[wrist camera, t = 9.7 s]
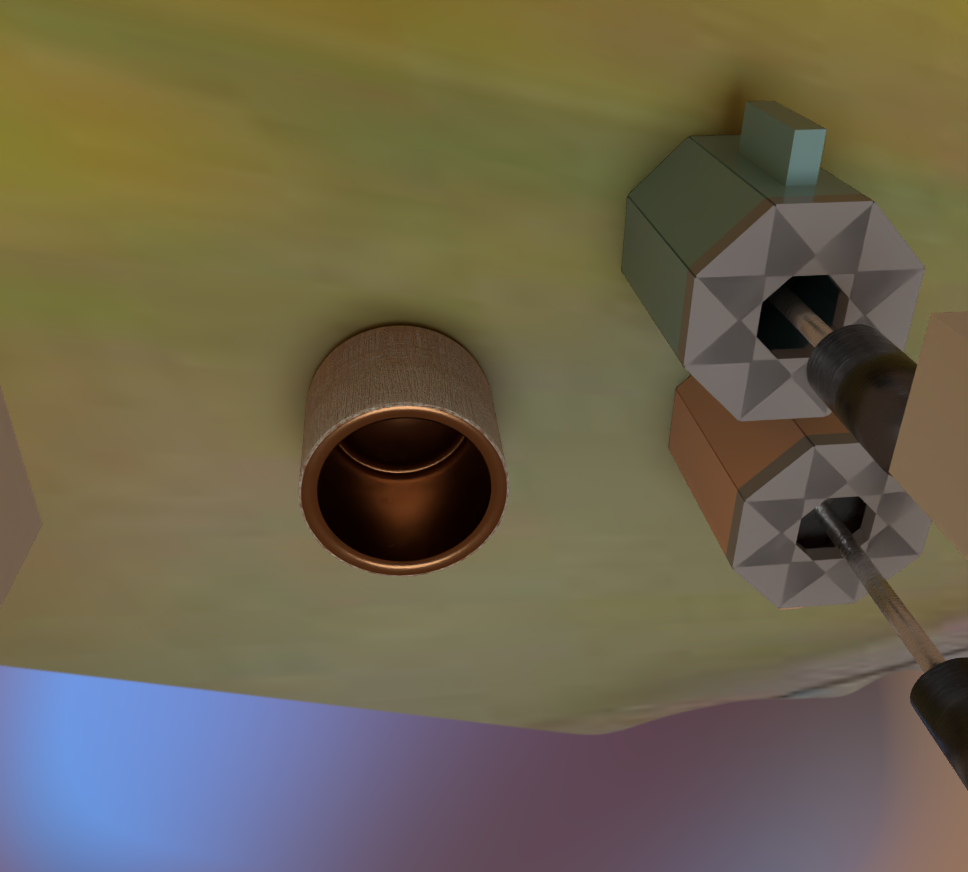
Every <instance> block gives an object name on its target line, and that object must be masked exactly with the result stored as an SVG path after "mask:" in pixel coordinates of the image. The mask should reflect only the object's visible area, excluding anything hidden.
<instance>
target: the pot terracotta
mask: <svg viewBox="0 0 968 872" xmlns="http://www.w3.org/2000/svg"><path fill="white" fill-rule="evenodd" d="M669 450H670V452H671V454H672V456H673V458H674V459H675V461H676V463H677V465H678V467H679V469H680V471H681V473H682V475H683V476H684V478H685V480H686V482H687V484H688V486H689V488H690V490H691V491H692V493H693V495H694V497H695V499H696V501H697V503H698V505H699V506H700V508H701V510H702V512H703V514H704V516H705V518H706V520H707V522H708V523H709V525H710V527H711V529H712V531H713V533H714V535H715V537H716V538H717V540H718V542H719V544H720V546H721V548H722V550H723V552H724V554H725V555H726V557H727V559H728V561H729V563H730V565H731V567H732V569H733V570H734V571H735V572H737V573H738V574H739V575H740V576H741V577H742V578H744V579H745V580H746V581H747V582H748V583H749V584H751V585H752V586H753V587H754V588H755V589H756V590H758V591H759V592H760V593H761V594H762V595H763V596H765V597H766V598H767V599H768V600H769V601H770V602H771V603H773V604H774V605H775V606H776V607H777V608H779V609H793V608H803V607H809V606H822V605H836V604H849V603H854V602H857V601H858V600H860V599H861V598H862V597H864V596H865V595H867V594H868V592H867V590H866V589H865V587H864V586H863V585H862V583H861V582H860V580H859V579H858V578H857V576H856V575H855V573H854V572H853V570H852V569H851V568H850V566H849V565H848V563H847V562H846V560H845V559H844V558H843V556H842V555H841V553H840V552H839V551H838V549H837V548H836V547H827V548H813V549H805V548H804V547H803V546H802V545H801V544H799V543H798V542H797V541H796V540H797V535H798V531H799V526H800V522H801V518H803V517H804V516H805V515H806V514H808V513H809V512H810V511H812V510H813V509H814V508H816V507H817V506H818V505H820V504H821V503H822V502H823V501H825V500H826V499H827V498H840V497H855V496H859V497H860V498H861V499H862V500H863V501H864V502H865V503H866V504H867V505H866V509H865V513H864V516H863V520H862V524H861V528H860V529H858V530H857V531H856V532H854V533H853V534H852V535H853V536H854V538H855V539H856V541H857V542H858V543H859V545H860V546H861V547H862V549H863V550H864V551H865V553H866V554H867V555H868V557H869V558H870V559H871V561H872V562H873V563H874V565H875V566H876V567H877V569H878V570H879V571H880V573H881V574H882V576H883V577H884V578H885V580H887V579H889V578H890V577H892V576H893V575H894V574H896V573H897V572H899V571H900V570H901V569H903V568H904V567H906V566H907V565H908V564H910V563H911V562H913V561H914V560H915V559H917V558H918V557H920V555H921V554H922V551H923V548H924V544H925V541H926V538H927V535H928V531H929V528H930V525H931V522H932V520H931V519H930V518H929V517H928V516H927V515H926V513H925V512H924V511H923V510H922V509H921V508H920V507H919V506H918V504H917V503H916V502H915V501H914V500H913V499H912V498H911V496H910V495H909V494H908V493H907V492H906V491H905V490H904V489H903V487H902V486H901V485H900V484H899V483H898V482H897V481H896V479H895V478H894V477H892V476H890V475H888V474H887V473H886V472H884V471H883V470H882V468H881V467H880V466H879V465H878V464H877V463H876V462H875V460H874V459H873V458H872V457H871V456H870V455H869V454H868V452H867V451H866V450H865V449H864V448H863V447H862V446H861V444H860V443H859V442H858V441H857V440H856V439H855V438H854V436H853V435H852V434H851V433H850V432H849V431H848V430H847V428H846V427H845V426H844V425H843V424H842V423H841V422H840V420H839V419H838V418H837V417H836V416H835V415H834V414H833V412H832V413H831V414H829V415H828V416H827V415H826V417H812V418H794V419H776V420H758V421H738V420H737V419H736V418H735V417H734V416H733V415H732V414H731V413H730V412H729V411H728V410H727V409H726V408H725V407H724V406H723V405H722V404H721V403H720V402H719V401H718V400H717V399H716V398H715V397H714V396H713V395H712V394H711V393H710V392H708V391H707V390H706V389H705V388H704V387H703V386H702V385H701V384H700V383H699V382H698V381H697V380H696V379H695V378H694V377H693V376H692V375H691V376H690V377H689V378H687V379H686V380H685V381H684V382H683V383H682V384H680V385H679V386H678V387H677V389H676V391H675V399H674V407H673V415H672V424H671V432H670V440H669Z"/></svg>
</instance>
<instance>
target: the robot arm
mask: <svg viewBox="0 0 968 872" xmlns="http://www.w3.org/2000/svg"><path fill="white" fill-rule="evenodd" d="M889 473H890V474H891V475H892V476H893V477H894V478H895V479H896V481H897V482H898V483H899V484H900V485H901V486H902V487H903V489H904V490H905V491H906V492H907V493H908V494H909V495H910V496H911V498H912V499H913V500H914V501H915V502H916V503H917V504H918V506H919V507H920V508H921V509H922V510H923V511H924V512H925V513H926V515H927V516H928V517H929V518H930V519H931V520H932V521H933V523H934V524H935V525H936V526H937V527H938V528H939V529H940V530H941V532H942V533H943V534H944V535H945V536H946V537H947V538H948V540H949V541H950V542H951V543H952V544H953V545H954V546H955V547H956V549H957V550H958V551H959V552H960V553H961V554H962V555H963V557H964V558H965V559H966V560H967V561H968V312H946V313H931V316H930V320H929V323H928V327H927V331H926V334H925V338H924V342H923V346H922V349H921V353H920V357H919V360H918V364H917V368H916V372H915V375H914V379H913V383H912V386H911V390H910V394H909V398H908V401H907V405H906V409H905V412H904V416H903V420H902V424H901V427H900V431H899V435H898V438H897V442H896V446H895V450H894V453H893V457H892V461H891V464H890V468H889ZM41 526H42V521H41V517H40V514H39V511H38V508H37V504H36V501H35V498H34V495H33V491H32V488H31V485H30V482H29V478H28V475H27V472H26V469H25V465H24V462H23V459H22V455H21V452H20V449H19V446H18V442H17V439H16V436H15V433H14V429H13V426H12V423H11V420H10V416H9V413H8V410H7V406H6V403H5V400H4V397H3V393H2V390H1V387H0V607H1V606H2V604H3V602H4V600H5V598H6V596H7V594H8V592H9V590H10V588H11V586H12V584H13V582H14V580H15V578H16V576H17V574H18V572H19V570H20V568H21V566H22V564H23V562H24V560H25V558H26V556H27V554H28V552H29V550H30V548H31V546H32V544H33V542H34V540H35V538H36V536H37V534H38V532H39V530H40V528H41Z"/></svg>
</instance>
